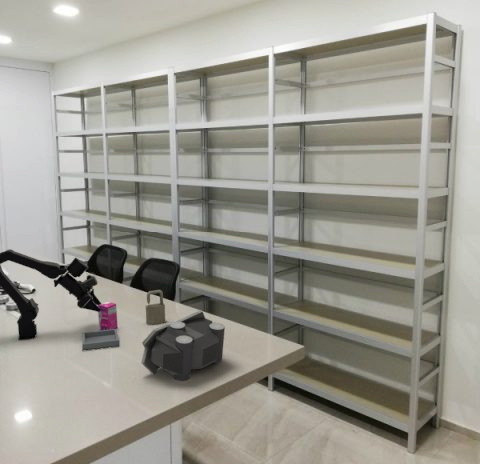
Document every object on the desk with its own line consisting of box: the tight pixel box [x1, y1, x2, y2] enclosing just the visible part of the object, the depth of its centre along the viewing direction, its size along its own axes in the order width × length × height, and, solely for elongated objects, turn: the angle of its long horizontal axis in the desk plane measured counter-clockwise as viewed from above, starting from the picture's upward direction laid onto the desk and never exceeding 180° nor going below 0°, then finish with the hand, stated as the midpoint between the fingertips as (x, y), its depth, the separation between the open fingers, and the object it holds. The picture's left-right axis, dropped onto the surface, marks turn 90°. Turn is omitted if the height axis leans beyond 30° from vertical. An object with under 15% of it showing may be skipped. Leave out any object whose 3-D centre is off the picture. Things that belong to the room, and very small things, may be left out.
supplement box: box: [97, 301, 119, 331], centre depth 220 cm, size 6×6×12 cm
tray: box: [81, 328, 120, 351], centre depth 206 cm, size 14×14×3 cm
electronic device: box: [141, 309, 226, 382], centre depth 180 cm, size 18×21×30 cm
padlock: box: [145, 289, 166, 326], centre depth 228 cm, size 4×8×15 cm, turn 116°
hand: (100, 307), depth 219 cm, fingers open, 9 cm apart
